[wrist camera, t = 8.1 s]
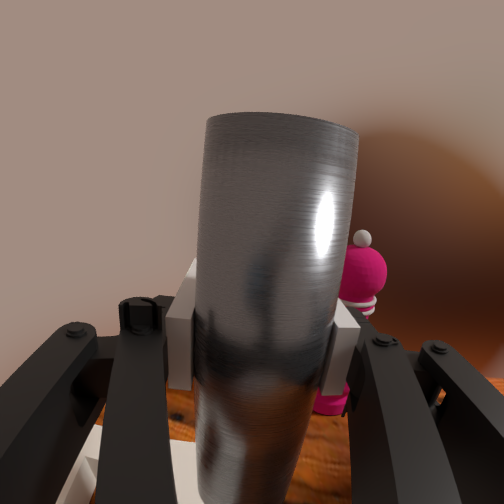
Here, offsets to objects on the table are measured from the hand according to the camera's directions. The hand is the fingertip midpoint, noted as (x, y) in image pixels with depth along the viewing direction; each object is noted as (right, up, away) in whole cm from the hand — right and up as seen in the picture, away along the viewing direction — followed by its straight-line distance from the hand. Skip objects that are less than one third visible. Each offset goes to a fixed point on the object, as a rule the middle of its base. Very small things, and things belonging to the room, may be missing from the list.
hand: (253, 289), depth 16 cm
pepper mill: (+9, -16, +18) cm, 25 cm away
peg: (-1, -10, -3) cm, 10 cm away
